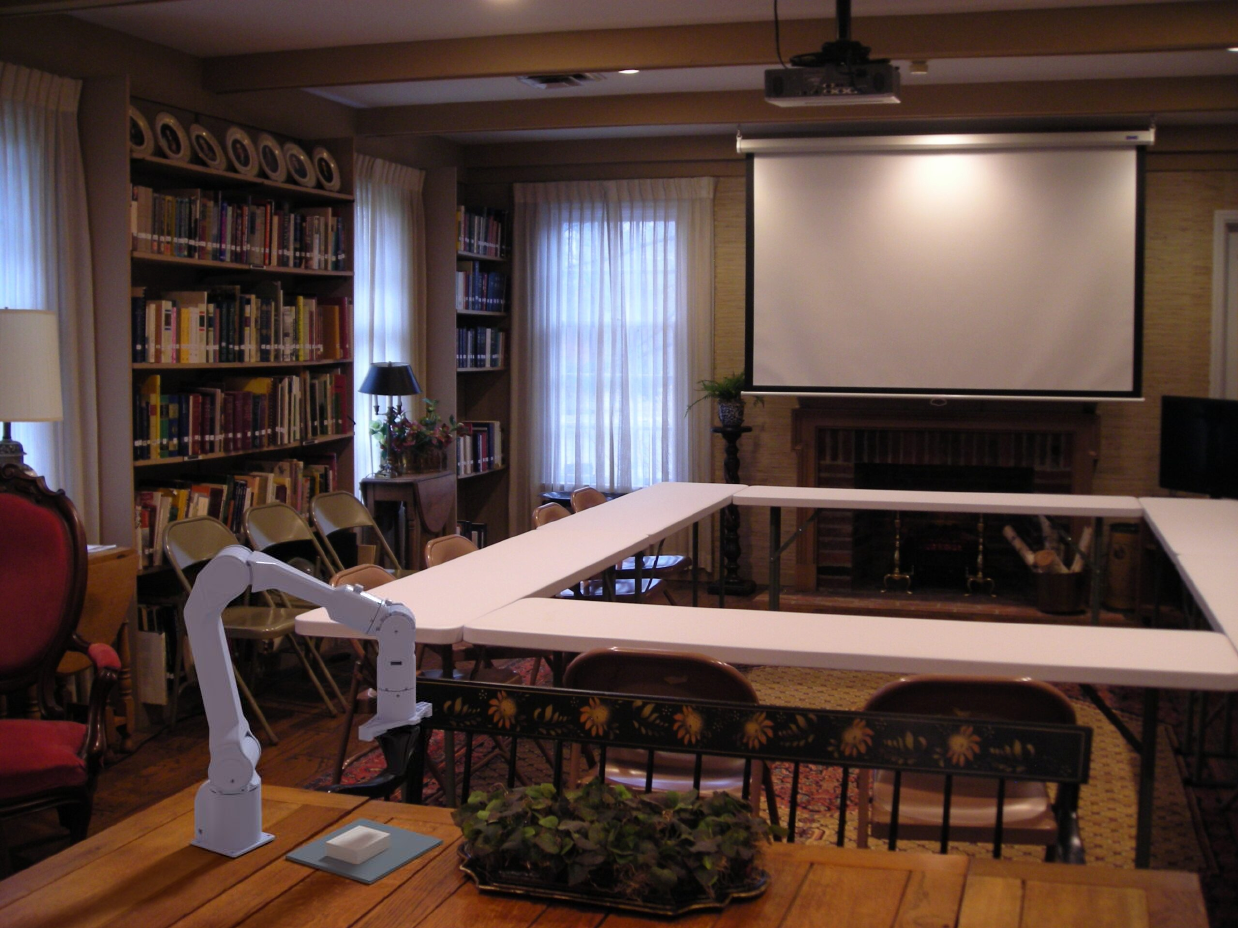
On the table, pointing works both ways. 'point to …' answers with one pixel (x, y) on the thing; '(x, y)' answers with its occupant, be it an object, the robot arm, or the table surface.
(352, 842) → the block
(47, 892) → the table surface
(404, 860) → the mat
